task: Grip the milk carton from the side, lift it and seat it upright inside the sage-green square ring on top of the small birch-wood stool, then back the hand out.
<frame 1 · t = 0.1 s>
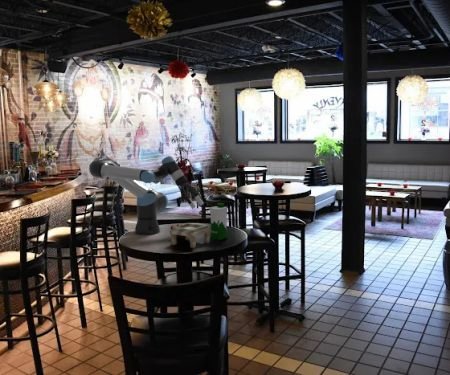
hand: (198, 206, 286), 15 cm above the table, tool tilted 35°, fingers open, 13 cm apart
stool: (190, 243, 254), on the table
milk carton: (218, 238, 266), on the table
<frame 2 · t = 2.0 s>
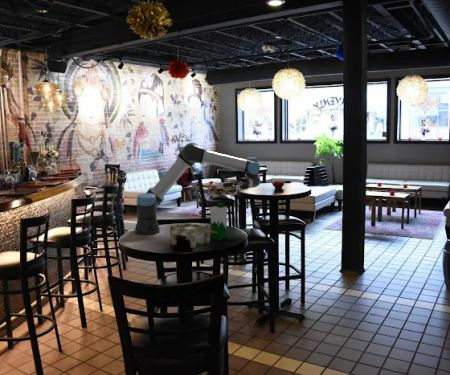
hand: (226, 187, 270), 29 cm above the table, tool horizontal, fingers open, 13 cm apart
nothing on the table moved.
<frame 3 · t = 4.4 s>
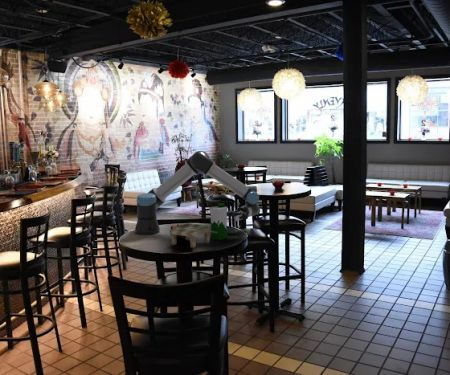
hand: (226, 217, 271), 11 cm above the table, tool horizontal, fingers open, 13 cm apart
nothing on the table moved.
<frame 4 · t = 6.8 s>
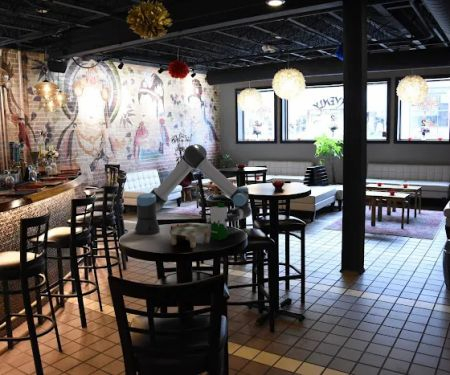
hand: (214, 220, 260), 11 cm above the table, tool horizontal, fingers closed on milk carton, 9 cm apart
milk carton: (218, 238, 266), on the table, touching gripper
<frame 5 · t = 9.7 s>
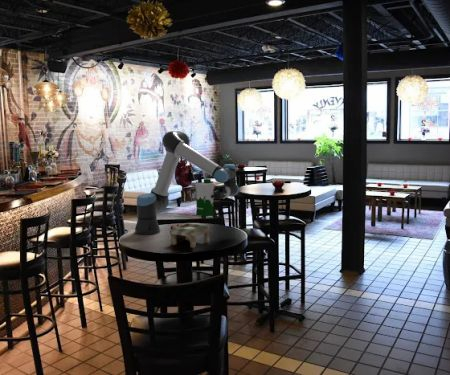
hand: (199, 196, 251), 26 cm above the table, tool horizontal, fingers closed on milk carton, 9 cm apart
milk carton: (204, 215, 256), point 15 cm above the table, touching gripper
when the fingers open (21 cm above the table, at t = 12.4 s): milk carton drops 2 cm, resting on stool.
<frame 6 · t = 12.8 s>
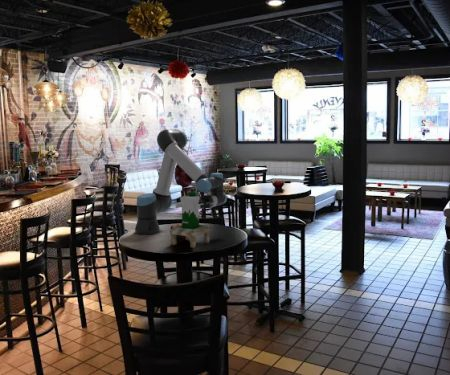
hand: (186, 206, 249), 21 cm above the table, tool horizontal, fingers open, 13 cm apart
milk carton: (190, 229, 253), point 8 cm above the table, touching stool
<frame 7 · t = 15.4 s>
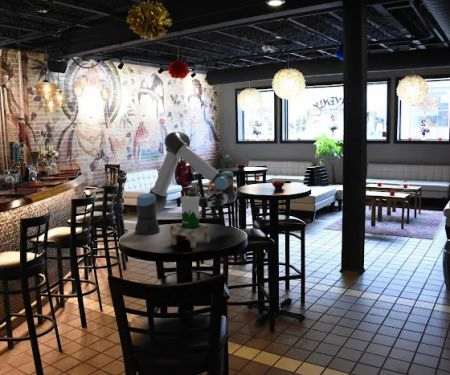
hand: (197, 203, 258), 21 cm above the table, tool horizontal, fingers open, 13 cm apart
nothing on the table moved.
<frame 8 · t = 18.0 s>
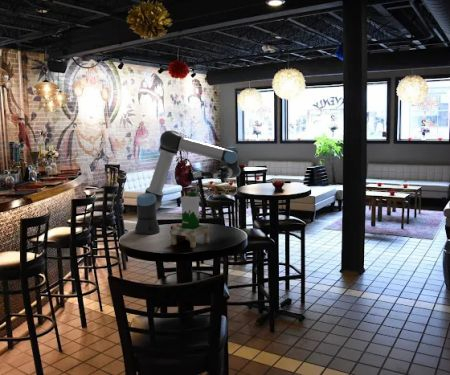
hand: (203, 175, 265), 36 cm above the table, tool horizontal, fingers open, 13 cm apart
nothing on the table moved.
at the end: milk carton 0.2 cm off-centre on the stool, point 7.8 cm above the stool's base; milk carton tilted 0°; the gripper is holding nothing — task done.
